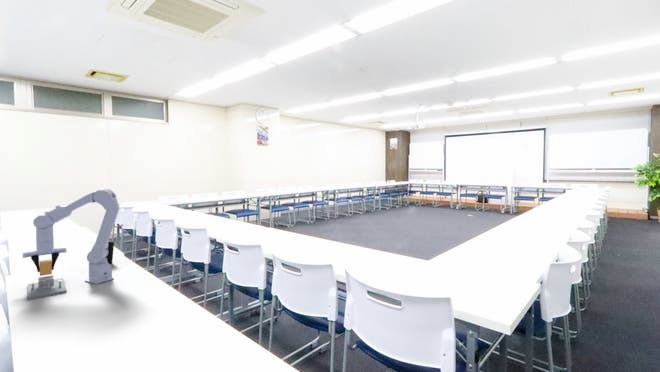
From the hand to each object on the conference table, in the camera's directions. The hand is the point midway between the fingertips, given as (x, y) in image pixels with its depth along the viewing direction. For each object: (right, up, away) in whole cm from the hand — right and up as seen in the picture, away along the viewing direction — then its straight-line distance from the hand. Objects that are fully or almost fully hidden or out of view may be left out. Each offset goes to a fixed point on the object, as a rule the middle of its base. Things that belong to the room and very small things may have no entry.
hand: (45, 270), depth 139 cm
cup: (+3, -6, +34) cm, 34 cm away
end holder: (0, -6, 0) cm, 6 cm away
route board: (+5, -7, -4) cm, 10 cm away
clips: (+5, -7, -4) cm, 10 cm away
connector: (0, -2, 0) cm, 2 cm away
